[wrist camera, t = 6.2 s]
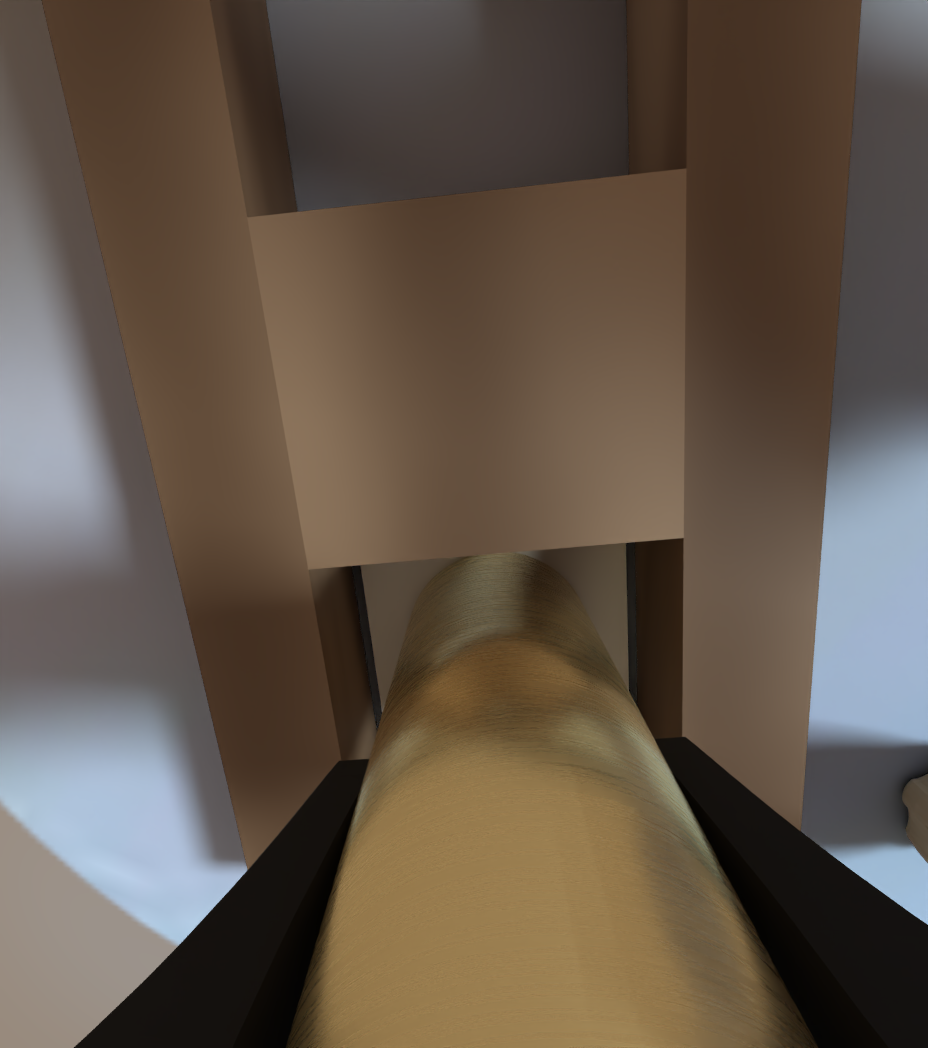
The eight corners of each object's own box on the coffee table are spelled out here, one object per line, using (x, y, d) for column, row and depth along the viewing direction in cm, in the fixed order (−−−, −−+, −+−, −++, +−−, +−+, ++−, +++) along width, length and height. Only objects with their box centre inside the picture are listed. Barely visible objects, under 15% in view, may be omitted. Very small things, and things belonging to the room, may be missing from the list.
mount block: (772, -456, 9) (927, -900, 6) (728, 841, 15) (792, 951, 12) (68, -347, 9) (-125, -703, 6) (312, 866, 15) (273, 979, 12)
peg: (583, 543, 12) (1035, 1132, 2) (592, 709, 13) (932, 1598, 3) (397, 560, 12) (108, 1172, 3) (420, 723, 13) (274, 1606, 4)
